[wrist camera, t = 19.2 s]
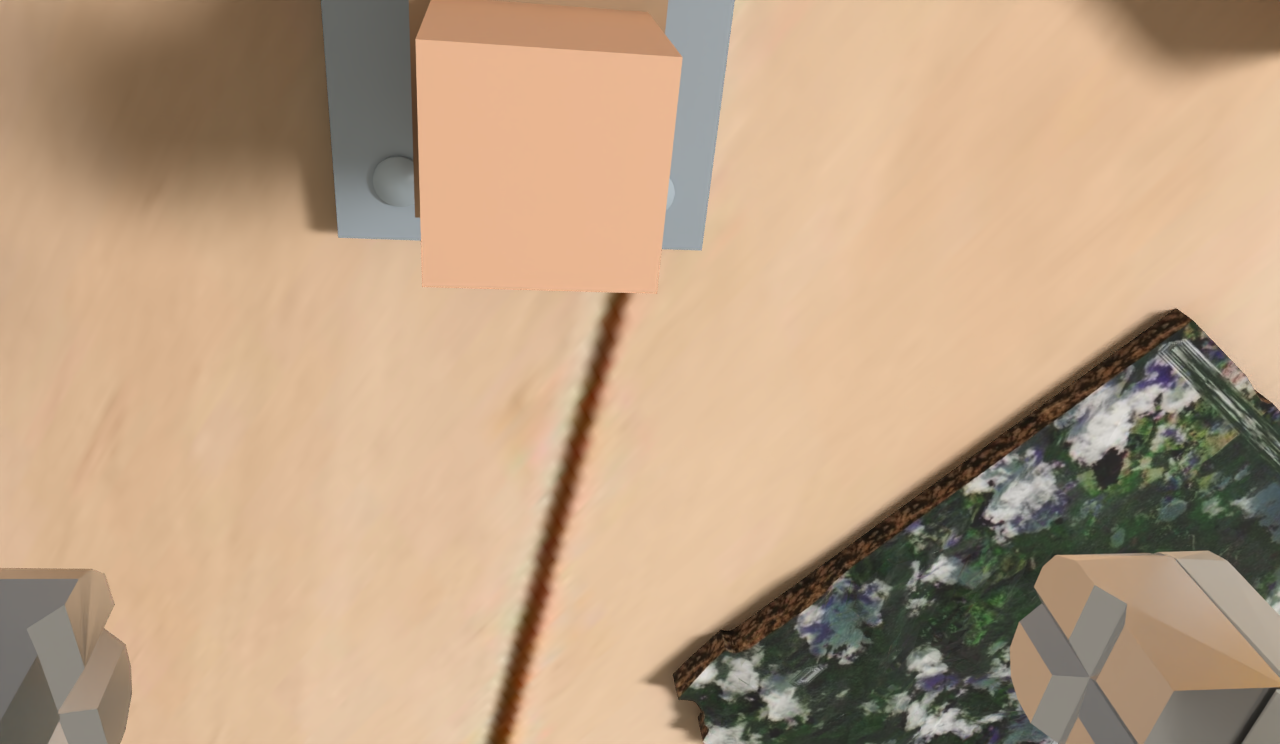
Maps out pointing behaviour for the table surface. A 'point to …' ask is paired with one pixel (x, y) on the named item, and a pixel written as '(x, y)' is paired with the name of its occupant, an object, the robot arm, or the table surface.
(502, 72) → the block
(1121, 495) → the topographical map
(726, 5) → the plate
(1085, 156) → the table surface
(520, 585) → the table surface
